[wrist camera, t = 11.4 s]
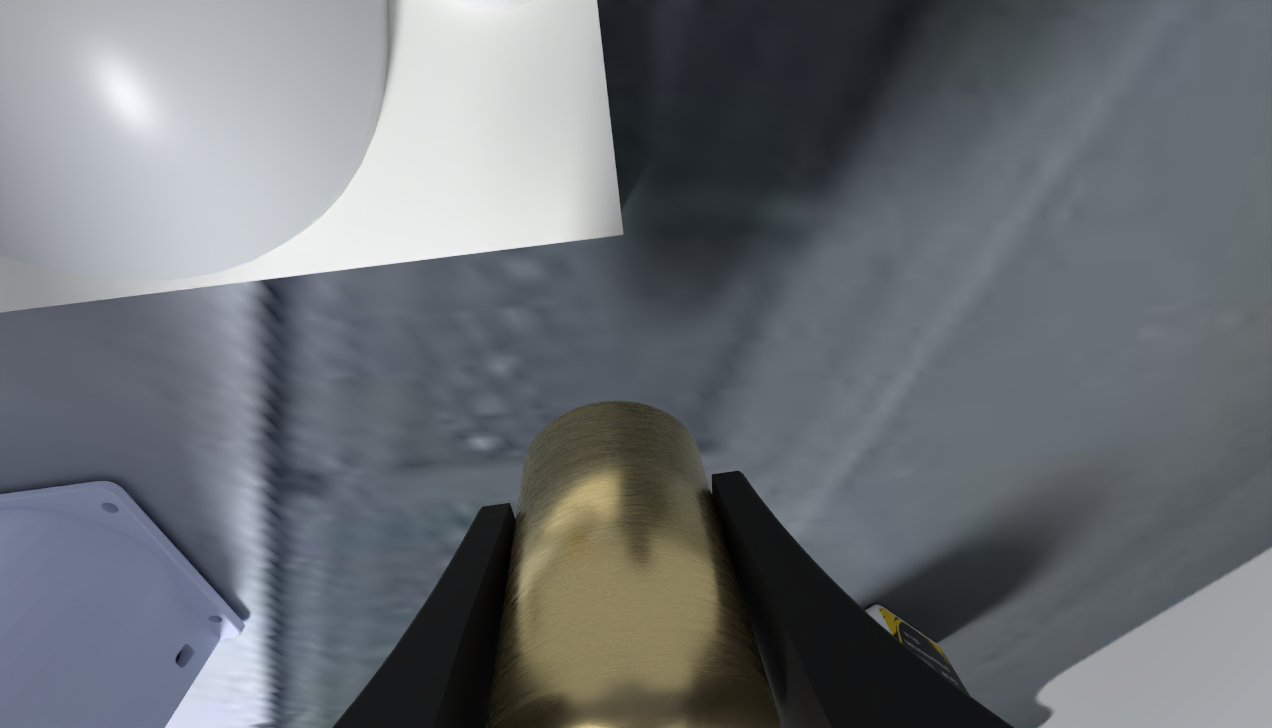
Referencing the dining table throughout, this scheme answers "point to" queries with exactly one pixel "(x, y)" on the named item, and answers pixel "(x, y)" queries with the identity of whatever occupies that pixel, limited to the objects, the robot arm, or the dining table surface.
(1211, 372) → the dining table surface
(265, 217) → the kitchen scale
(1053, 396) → the dining table surface
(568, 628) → the cylinder
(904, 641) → the medicine bottle
